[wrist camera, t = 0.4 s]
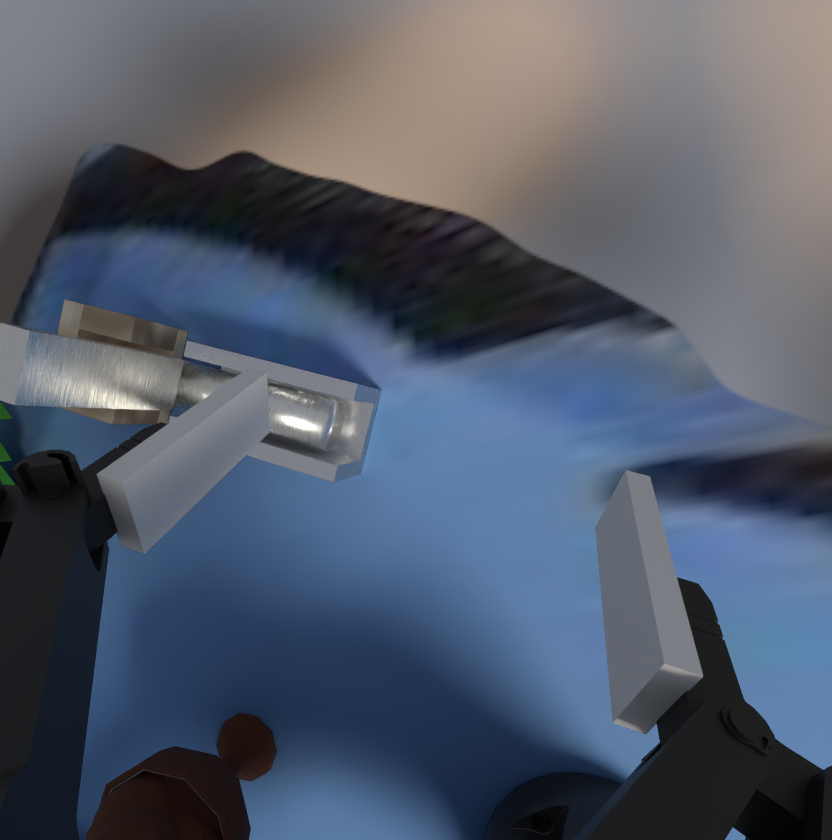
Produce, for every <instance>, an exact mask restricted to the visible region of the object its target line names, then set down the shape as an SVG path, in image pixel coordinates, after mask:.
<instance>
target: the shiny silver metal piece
mask: <svg viewBox="0 0 832 840" xmlns="http://www.w3.org/2000/svg"><path fill="white" fill-rule="evenodd" d="M237 375H238V374H234V373H231V372H227V371H223V370H219V369H215V368H212V367H208V366H204V365H200V364H197V363H193V362H189V361H185V360H182V359H178V358H174V357H170V356H167V355H163V354H159V353H154V352H149V351H144V350H139V349H134V348H129V347H124V346H118V345H113V344H108V343H103V342H98V341H93V340H88V339H83V338H77V337H72V336H67V335H62V334H57V333H52V332H47V331H42V330H36V329H31V328H26V327H21V326H16V325H11V324H6V323H1V322H0V401H3V402H6V403H9V404H12V405H24V406H52V407H81V408H109V409H137V410H165V411H173V407H174V406H176V407H180V408H183V409H186V410H189V409H190V408H192V407H193V406H194V405H196V404H197V403H199V402H200V401H201V400H203V399H204V398H206V397H207V396H209V395H210V394H211V393H213V392H214V391H216V390H217V389H219V388H220V387H221V386H223V385H224V384H226V383H227V382H229V381H230V380H231V379H233V378H234V377H236V376H237ZM267 385H268V403H269V420H270V432H269V433H268V434H272V435H275V436H278V437H282V438H285V439H289V440H292V441H295V442H299V443H302V444H306V445H309V446H312V447H316V448H319V449H323V450H329V449H330V448H332V447H333V445H334V444H335V443H336V441H337V439H338V437H339V435H340V432H341V429H342V425H343V420H344V408H343V404H342V403H341V402H340V401H336V400H332V399H329V398H325V397H321V396H317V395H314V394H310V393H306V392H302V391H298V390H295V389H291V388H287V387H283V386H280V385H276V384H272V383H268V382H267Z"/></svg>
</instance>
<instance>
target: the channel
mask: <svg viewBox="0 0 832 840" xmlns="http://www.w3.org/2000/svg"><path fill="white" fill-rule="evenodd" d="M184 356H185V357H188V358H192V359H196V360H200V361H204V362H207V363H211V364H215V365H219V366H222V367H221V370H223V371H227V372H231V373H234V374H238V375H239V374H240V373H241V372H243V371H244V370H246V369H247V368H252V369H256V370H259V371H263V372H267V382H268V383H272V384H276V385H280V386H283V387H287V388H291V389H295V390H298V391H302V392H306V393H310V394H314V395H317V396H321V397H325V398H329V399H332V400H336V401H340V402H341V403H342V404H343V408H344V420H343V425H342V429H341V432H340V435H339V437H338V439H337V441H336V443H335V444H334V445H333V447H332V448H330V449H329V450H323V449H319V448H316V447H312V446H309V445H306V444H302V443H299V442H295V441H292V440H289V439H285V438H282V437H278V436H275V435H272V434H267V435H266V436H265V437H264V438H263V439H262V440H261V441H260V442H259V443H258V444H257V445H256V446H255V447H254V448H253V449H252V450H251V451H250V452H249V453H248V454H247V456H250V457H253V458H257V459H260V460H263V461H266V462H270V463H273V464H276V465H279V466H282V467H286V468H289V469H292V470H295V471H299V472H302V473H305V474H308V475H312V476H315V477H318V478H321V479H324V480H328V481H331V482H336V481H339V480H342V479H345V478H348V477H351V476H354V475H357V474H360V473H361V470H362V466H363V462H364V458H365V454H366V450H367V446H368V442H369V438H370V434H371V430H372V426H373V422H374V418H375V414H376V410H377V406H378V401H379V397H380V393H381V390H380V389H376V388H372V387H368V386H365V385H361V384H357V383H353V382H349V381H345V380H341V379H337V378H333V377H329V376H325V375H321V374H317V373H313V372H309V371H305V370H301V369H297V368H293V367H289V366H286V365H282V364H278V363H274V362H270V361H266V360H262V359H258V358H254V357H250V356H246V355H242V354H238V353H234V352H230V351H226V350H222V349H218V348H214V347H210V346H206V345H202V344H198V343H194V342H190V341H187V343H186V347H185V352H184ZM177 417H179V416H175V415H170V418H169V423H170V422H172V421H173V420H174V419H176V418H177ZM169 423H168V424H169Z"/></svg>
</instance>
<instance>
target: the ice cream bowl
mask: <svg viewBox="0 0 832 840" xmlns="http://www.w3.org/2000/svg"><path fill="white" fill-rule="evenodd" d="M216 745H217V749H218V753H219V757H220V758H219V757H218V756H217V755H212V754H208V753H203V752H199V751H194V750H190V749H185V748H181V747H176V746H174V747H171V748H168V749H164V750H161V751H159V752H157V753H156V754H154V755H152V756H151V757H149V758H148V759H146V760H144V761H143V762H141V763H139V764H138V765H136V766H135V767H133V768H131V769H130V770H128V771H127V772H125V773H123V774H122V775H120V776H119V777H117V778H115V779H114V780H112V781H111V782H109V783H108V784H106V787H105V790H104V793H103V796H102V799H101V803H100V806H99V809H98V811H97V813H96V815H95V817H94V820H93V823H92V826H91V828H90V829H89V831H88V832H87V835H86V840H249V835H250V830H251V828H250V824H249V819H248V815H247V810H246V806H245V802H244V798H243V794H242V790H241V786H240V782H239V779H243V780H247V781H253V780H255V779H256V778H258V777H260V776H262V775H263V774H265V773H267V772H268V771H270V770H271V767H272V764H273V761H274V758H275V755H276V752H277V751H276V747H275V743H274V739H273V735H272V731H271V730H270V729H269V728H268V727H267V726H266V725H265V724H264V723H263V722H262V721H261V720H260V719H259V718H258V717H257V716H252V715H247V714H242V713H239V714H237V715H235V716H234V717H232V718H230V719H229V720H227V721H226V722H225V723H224V725H223V727H222V729H221V732H220V735H219V738H218V741H217V744H216Z"/></svg>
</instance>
